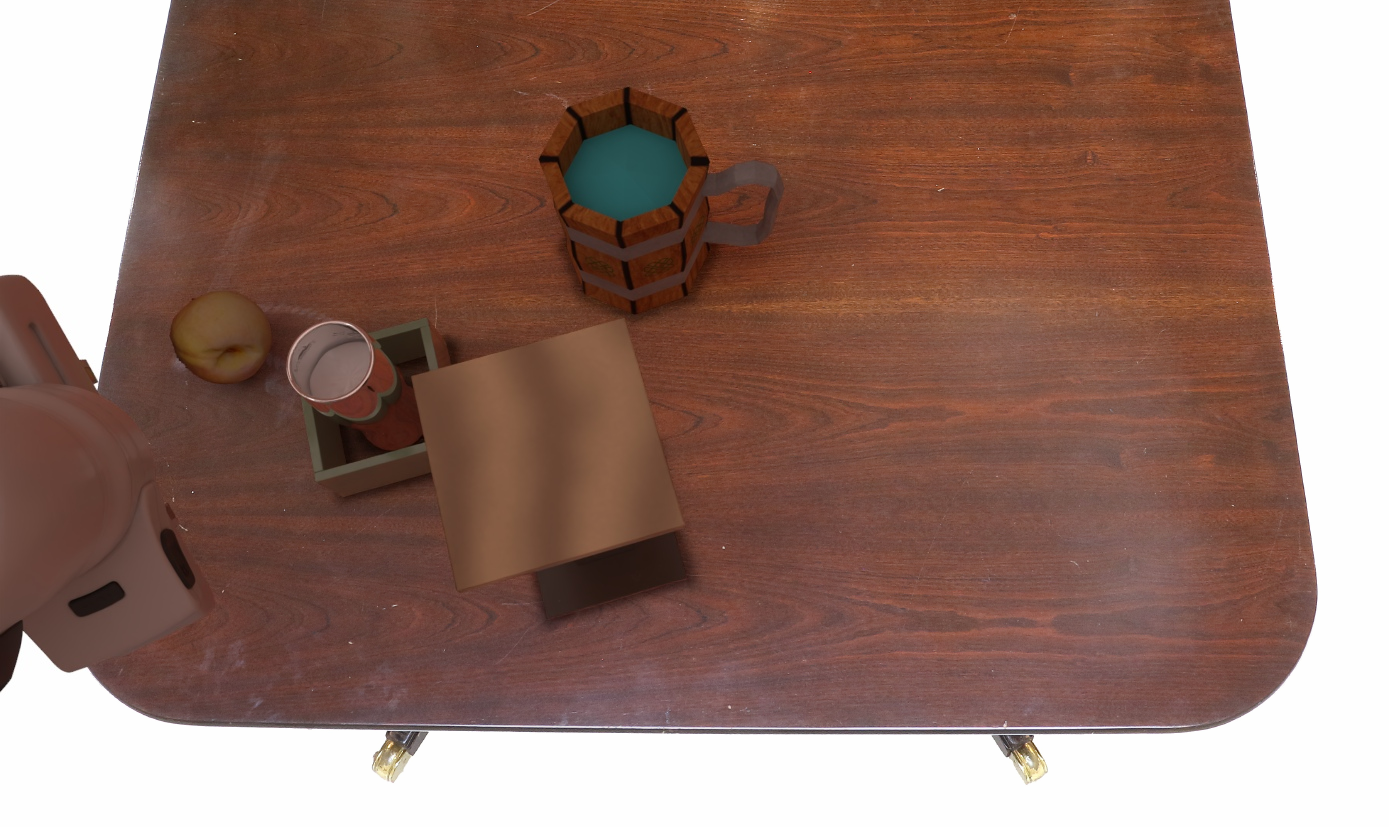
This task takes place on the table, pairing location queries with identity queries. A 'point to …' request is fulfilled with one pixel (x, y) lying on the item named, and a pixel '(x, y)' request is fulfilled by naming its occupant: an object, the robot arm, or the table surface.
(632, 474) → the square wooden board
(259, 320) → the fruit
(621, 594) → the stand post
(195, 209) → the table surface
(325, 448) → the holder
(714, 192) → the mug
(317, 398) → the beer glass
